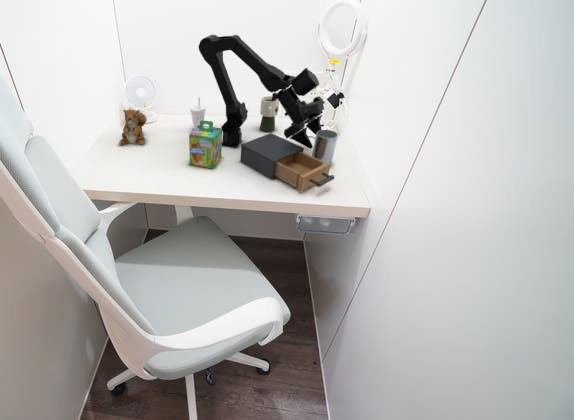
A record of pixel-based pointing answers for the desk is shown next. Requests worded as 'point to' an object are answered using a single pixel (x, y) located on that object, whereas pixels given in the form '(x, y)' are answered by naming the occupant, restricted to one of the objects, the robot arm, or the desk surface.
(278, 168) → the drawer
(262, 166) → the organizer
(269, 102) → the character mug
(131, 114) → the stuffed squirrel
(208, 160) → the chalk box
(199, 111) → the smoothie
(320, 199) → the desk surface
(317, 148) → the steel cup
